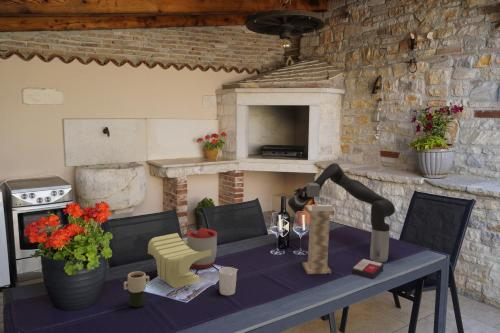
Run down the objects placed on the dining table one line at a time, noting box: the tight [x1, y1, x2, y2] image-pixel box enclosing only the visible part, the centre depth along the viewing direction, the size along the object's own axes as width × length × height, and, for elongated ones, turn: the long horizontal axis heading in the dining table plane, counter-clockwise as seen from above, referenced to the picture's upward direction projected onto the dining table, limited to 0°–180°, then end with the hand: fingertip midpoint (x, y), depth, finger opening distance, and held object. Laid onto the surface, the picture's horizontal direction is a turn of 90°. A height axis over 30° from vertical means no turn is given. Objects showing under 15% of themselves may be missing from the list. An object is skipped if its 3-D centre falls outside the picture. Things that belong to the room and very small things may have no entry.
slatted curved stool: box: [147, 232, 211, 289], centre depth 190 cm, size 30×16×18 cm, turn 40°
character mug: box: [123, 270, 150, 308], centre depth 165 cm, size 11×7×13 cm, turn 130°
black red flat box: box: [351, 258, 384, 280], centre depth 207 cm, size 11×4×15 cm
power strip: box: [311, 203, 334, 211], centre depth 199 cm, size 10×2×3 cm, turn 97°
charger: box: [303, 182, 321, 198], centre depth 220 cm, size 5×16×6 cm, turn 7°
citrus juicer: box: [186, 226, 218, 269], centre depth 210 cm, size 16×17×20 cm
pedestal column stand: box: [301, 204, 335, 275], centre depth 207 cm, size 12×12×32 cm
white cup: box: [218, 266, 238, 296], centre depth 179 cm, size 8×8×10 cm
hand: (309, 187), depth 222 cm, fingers closed on charger, 3 cm apart
